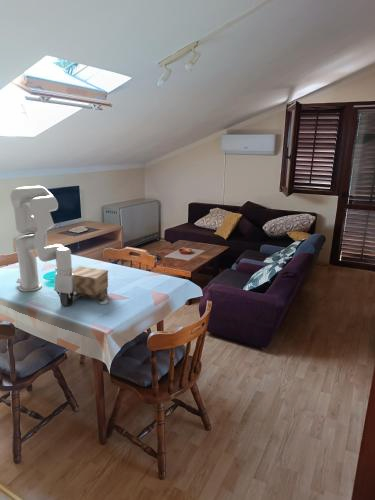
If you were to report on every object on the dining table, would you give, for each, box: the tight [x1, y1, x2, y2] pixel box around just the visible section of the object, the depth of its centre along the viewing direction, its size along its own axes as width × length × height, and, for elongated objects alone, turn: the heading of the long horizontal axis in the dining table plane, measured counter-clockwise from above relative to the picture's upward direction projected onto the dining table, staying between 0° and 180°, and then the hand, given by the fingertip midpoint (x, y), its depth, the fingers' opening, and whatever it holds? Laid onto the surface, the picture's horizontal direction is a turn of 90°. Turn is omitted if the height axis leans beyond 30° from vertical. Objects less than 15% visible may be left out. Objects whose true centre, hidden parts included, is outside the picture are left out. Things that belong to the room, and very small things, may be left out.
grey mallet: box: [60, 293, 81, 308], centre depth 196 cm, size 4×13×7 cm, turn 163°
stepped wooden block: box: [72, 265, 109, 300], centre depth 201 cm, size 19×13×15 cm
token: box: [98, 298, 109, 306], centre depth 196 cm, size 5×5×2 cm
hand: (66, 303), depth 192 cm, fingers closed on grey mallet, 4 cm apart
